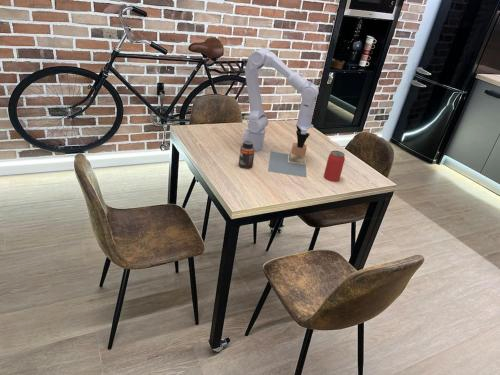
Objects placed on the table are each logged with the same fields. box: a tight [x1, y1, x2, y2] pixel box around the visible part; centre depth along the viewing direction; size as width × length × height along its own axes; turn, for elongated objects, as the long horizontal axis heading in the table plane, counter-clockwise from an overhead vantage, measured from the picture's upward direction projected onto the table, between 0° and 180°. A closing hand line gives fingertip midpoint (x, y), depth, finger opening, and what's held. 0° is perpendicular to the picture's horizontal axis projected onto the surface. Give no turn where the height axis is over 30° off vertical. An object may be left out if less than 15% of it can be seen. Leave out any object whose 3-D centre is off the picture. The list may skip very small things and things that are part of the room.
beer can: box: [323, 150, 346, 183], centre depth 154 cm, size 7×7×12 cm
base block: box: [289, 149, 306, 164], centre depth 167 cm, size 6×6×3 cm
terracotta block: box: [290, 142, 308, 157], centre depth 166 cm, size 6×4×4 cm, turn 84°
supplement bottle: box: [238, 140, 256, 170], centre depth 154 cm, size 6×6×11 cm
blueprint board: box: [267, 151, 308, 178], centre depth 164 cm, size 16×21×1 cm
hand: (299, 144), depth 164 cm, fingers open, 7 cm apart
